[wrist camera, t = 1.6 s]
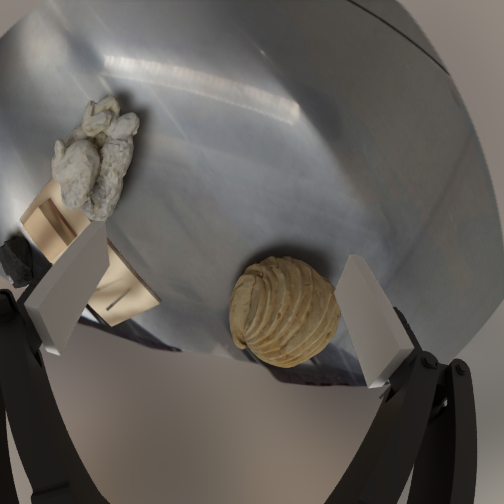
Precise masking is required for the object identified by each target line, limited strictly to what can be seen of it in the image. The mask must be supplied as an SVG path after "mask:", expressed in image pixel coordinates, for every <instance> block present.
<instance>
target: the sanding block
mask: <svg viewBox="0 0 504 504" xmlns="http://www.w3.org/2000/svg"><path fill="white" fill-rule="evenodd" d="M23 227H24V229H25V230H26V231H27V233H28V234H29V236H30V237H31V238H32V240H33V241H34V242H35V244H36V245H37V246H38V248H39V249H40V250H41V251H42V253H43V254H44V255H45V257H46V258H47V259H48V260H49V262H52V261H53V260H54V259H55V258H56V257H57V256H58V255H59V254H60V253H61V252H62V251H63V250H64V249H65V248H67V247H68V246H69V244H70V243H71V242H72V241H73V240H74V239H75V238H76V237H77V236H78V235H77V234H76V233H75V231H74V230H73V229H72V228H71V226H70V225H69V224H68V222H67V221H66V219H65V218H64V217H63V215H62V214H61V213H60V211H59V210H58V208H57V207H56V206H55V204H54V203H53V201H52V200H51V198H49V199H48V200H46V201H45V202H44V203H42V204H41V205H40V206H38V207H37V209H36V210H35V211H34V212H33V214H32V215H31V216H30V217H29V219H28V220H27V221H26V223H25V224H24V225H23Z"/></svg>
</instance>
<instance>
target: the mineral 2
mask: <svg viewBox="0 0 504 504" xmlns="http://www.w3.org/2000/svg"><path fill="white" fill-rule="evenodd" d="M120 107H121V106H119V105H118V102H117V101H116V100H115V98H114V97H113V96H112V95H111V96H107V97H105V98H103V99H101V100H100V101H99V102H98V103H94V101H89V103H88V104H87V106H86V108H85V112H84V116H83V119H82V121H83V123H82V124H81V125H80V126H79V127H78V128H75V129H74V130H73V131H72V133H71V134H70V135H69V137H68V139H67V140H66V141H65V142H64V141H63V140H61V139H60V140H57V141H56V145H55V155H54V156H53V157H52V172H53V178H54V180H55V181H56V182H58V183H60V187H61V197H62V202H63V203H64V205H65V206H66V207H68V208H70V209H71V210H79V209H81V211H82V212H83V214H84V215H85V216H86V217H87V218H89V219H91V220H94V221H102V222H104V221H106V220H107V217H109V216H110V215H112V213H113V211H114V208H115V207H116V204H117V201H118V200H119V199H120V195H121V191H122V189H123V179H122V178H123V177H124V175H125V174H126V171H127V169H128V167H129V165H130V163H131V160H132V156H133V149H134V145H133V140H132V137H133V136H134V135H135V134H136V133H137V129H138V127H139V118H138V117H137V116H136V115H135V114H134V113H133V112H132V113H127V114H124V115H122V116H121V117H120Z"/></svg>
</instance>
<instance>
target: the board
mask: <svg viewBox="0 0 504 504" xmlns="http://www.w3.org/2000/svg"><path fill="white" fill-rule="evenodd" d="M49 198H51V200H52V201H53V203H54V204H55V206H56V207H57V208H58V210H59V211H60V213H61V214H62V215H63V217H64V218H65V219H66V221H67V222H68V224H69V225H70V226H71V228H72V229H73V230H74V231H75V233H76V234H77V235H78V236H79V235H80V234H81V233H82V232H83V231H84V229H85V228H86V227H87V226H88V225H89V224H90V223H91V222H92V221H93V220H91V219H89V218H87V217H86V216H85V215H84V214H83V212H82V211H81V209H79V210H71V209H70V208H68V207H66V206H65V205H64V203H63V202H62V197H61V187H60V183H58V182H56V181H55V180H54V178H52V179H51V180H50V182H49V183H48V184H47V185H46V186H45V188H44V189H43V190H42V191H41V192H40V194H39V195H38V196H37V197H36V199H35V200H34V201H33V202H32V204H31V205H30V206H29V208H28V209H27V210H26V212H25V213H24V214H23V216H22V217H21V218H20V221H21V223H22V224H23V225H24V224H25V223H26V221H27V220H28V219H29V217H30V216H31V215H32V214H33V212H34V211H35V210H36V209H37V207H38V206H40V205H41V204H42V203H44V202H45V201H46V200H48V199H49ZM78 236H77V237H78ZM77 237H76V238H77ZM76 238H75V239H76ZM75 239H74V240H75ZM74 240H73V241H74ZM73 241H72V242H71V243H70V244H69V246H70V245H71V244H72V243H73ZM69 246H68V247H69ZM107 246H108V254H109V262H110V266H109V268H108V269H107V271H106V272H105V274H104V276H103V277H102V279H101V281H100V282H99V284H98V286H97V287H96V289H95V291H94V292H93V294H92V296H91V298H90V299H89V301H88V304H89V305H90V306H91V307H92V308H93V309H94V310H95V311H96V312H97V313H98V314H99V315H100V316H101V317H102V318H103V319H104V320H105V321H106V322H107V323H108V324H109V325H110V326H111V327H112V326H114V325H116V324H118V323H120V322H122V321H125V320H127V319H129V318H131V317H133V316H135V315H137V314H139V313H142V312H144V311H146V310H148V309H150V308H152V307H154V306H157V305H159V304H160V303H161V300H160V299H159V298H158V297H157V296H156V295H155V294H154V293H153V291H152V290H151V289H150V288H149V287H148V286H147V285H146V284H145V283H144V282H143V280H142V279H141V278H140V277H139V276H138V275H137V274H136V272H135V271H134V270H133V269H132V268H131V267H130V265H129V264H128V263H127V262H126V261H125V260H124V258H123V257H122V256H121V255H120V254H119V252H118V251H117V250H116V249H115V248H114V246H113V245H112V244H111V243H110V241H109V240H108V239H107ZM68 247H67V248H68ZM67 248H65V249H64V250H63V251H62V252H61V253H60V254H59V255H58V256H57V257H56V258H55V259H54V260H53V261H52V262H51V263H52V264H53V265H54V264H55V262H56V261H57V260H58V259H59V258H60V256H61V255H62V254H63V253H64V252H65V251H66V249H67Z"/></svg>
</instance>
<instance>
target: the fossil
mask: <svg viewBox="0 0 504 504" xmlns="http://www.w3.org/2000/svg"><path fill="white" fill-rule="evenodd" d="M334 291H335V287H334V286H333V285H332V284H331V282H330V281H329V280H328V278H325V277H323V276H321V275H319V274H318V273H317V272H316V271H315V270H314V269H313V268H312V267H311V266H309V265H308V264H307V263H305V262H303V261H302V260H297V259H293V258H291V257H285V256H284V257H282V258H278V257H273V256H271V257H268V258H267V259H265V260H263V261H261V262H260V263H259V264H253V265H250V266H249V267H247V268H246V270H245V272H244V274H243V275H241V276H240V278H239V280H238V281H237V283H236V285H235V287H234V289H233V291H232V293H231V301H230V307H229V321H230V328H231V333H232V337H233V341H234V343H235V344H236V346H237V347H239V348H240V349H244V348H247V347H249V348H250V349H251V351H252V352H253V353H254V354H255V355H256V356H257V357H258V358H260V359H261V360H263V361H265V362H267V363H269V364H272V365H275V366H279V367H286V368H289V367H293V366H295V365H297V364H299V363H301V362H304V361H306V360H308V359H309V358H311V357H312V356H314V355H316V354H318V353H319V352H320V351H322V350H323V349H324V348H325V347H326V345H327V344H328V343H329V342H330V340H331V339H332V338H333V337H334V335H335V333H336V329H337V326H338V322H339V319H340V316H341V310H340V308H339V305H338V302H337V300H336V297H335V295H334Z"/></svg>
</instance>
